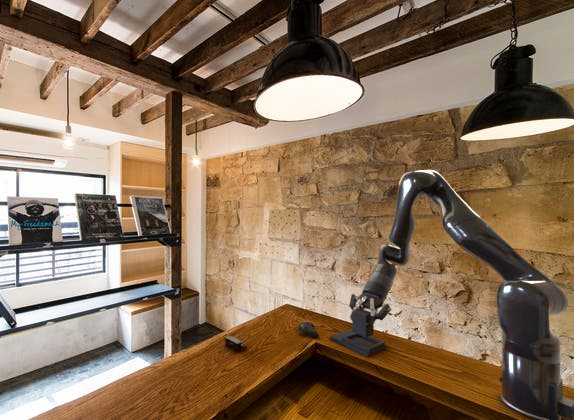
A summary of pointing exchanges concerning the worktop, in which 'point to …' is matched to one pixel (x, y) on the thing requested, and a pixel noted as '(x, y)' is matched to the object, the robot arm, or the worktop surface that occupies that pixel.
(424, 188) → the robot arm
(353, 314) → the dark grey rectangular block
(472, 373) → the worktop surface
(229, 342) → the wireless earbuds
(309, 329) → the game controller
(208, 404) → the worktop surface
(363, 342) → the pad
